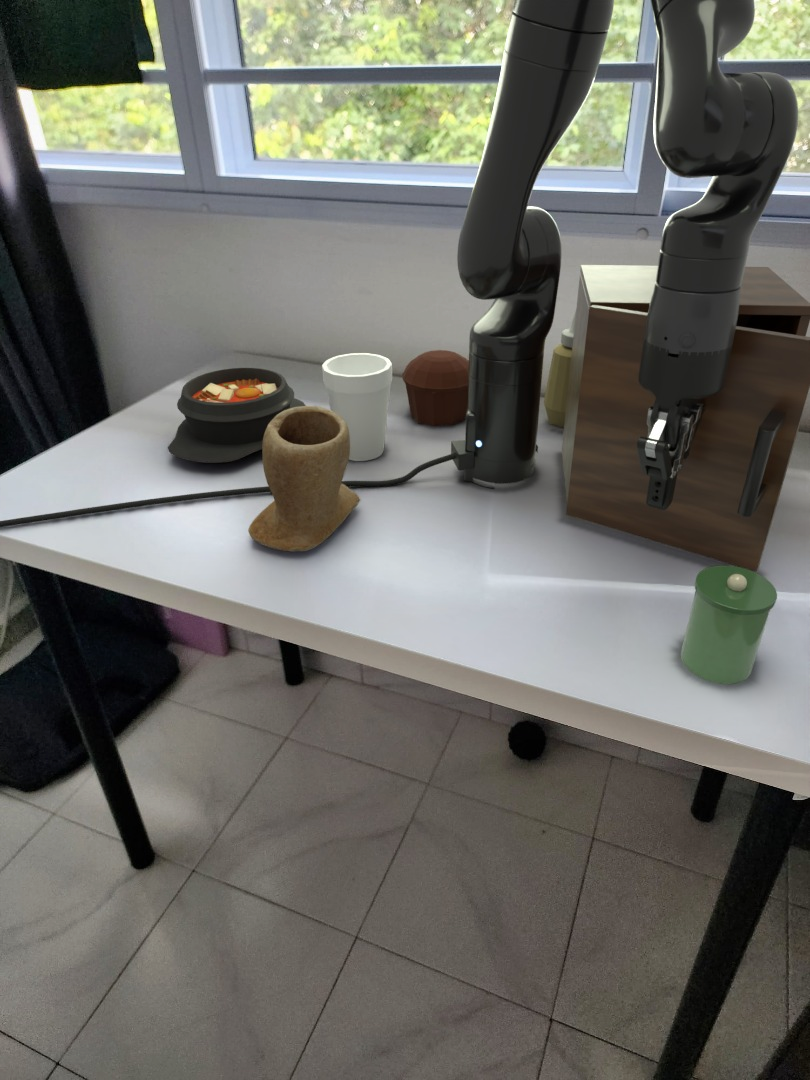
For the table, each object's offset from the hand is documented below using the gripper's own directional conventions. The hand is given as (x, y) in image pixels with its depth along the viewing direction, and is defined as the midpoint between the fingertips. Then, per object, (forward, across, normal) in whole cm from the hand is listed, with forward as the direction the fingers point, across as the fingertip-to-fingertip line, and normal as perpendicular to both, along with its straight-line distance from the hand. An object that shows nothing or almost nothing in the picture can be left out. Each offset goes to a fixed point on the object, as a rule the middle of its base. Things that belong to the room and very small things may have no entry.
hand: (658, 505), depth 76 cm
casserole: (+8, -2, -63) cm, 64 cm away
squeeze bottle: (+9, -33, -24) cm, 41 cm away
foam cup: (+9, -8, -45) cm, 47 cm away
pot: (+9, +9, +10) cm, 16 cm away
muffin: (+8, -25, -43) cm, 50 cm away
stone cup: (+9, +12, -37) cm, 40 cm away
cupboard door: (+9, -4, -1) cm, 10 cm away
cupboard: (+9, -20, -7) cm, 23 cm away
